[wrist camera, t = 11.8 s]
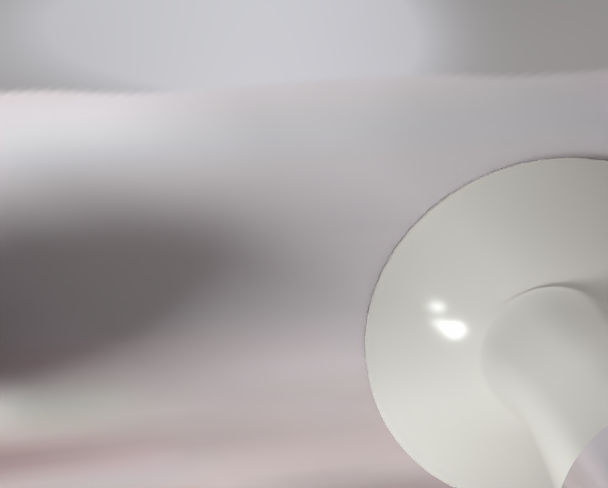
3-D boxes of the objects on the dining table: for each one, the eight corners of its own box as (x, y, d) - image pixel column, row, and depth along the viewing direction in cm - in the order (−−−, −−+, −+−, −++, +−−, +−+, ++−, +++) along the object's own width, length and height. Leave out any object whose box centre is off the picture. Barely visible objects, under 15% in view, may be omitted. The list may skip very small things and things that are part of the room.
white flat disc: (336, 467, 23) (336, 476, 22) (404, 128, 19) (406, 128, 19) (667, 522, 23) (676, 532, 22) (793, 191, 19) (808, 193, 19)
